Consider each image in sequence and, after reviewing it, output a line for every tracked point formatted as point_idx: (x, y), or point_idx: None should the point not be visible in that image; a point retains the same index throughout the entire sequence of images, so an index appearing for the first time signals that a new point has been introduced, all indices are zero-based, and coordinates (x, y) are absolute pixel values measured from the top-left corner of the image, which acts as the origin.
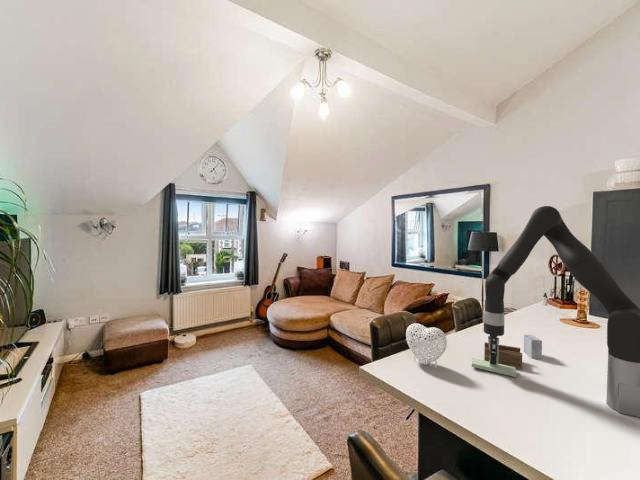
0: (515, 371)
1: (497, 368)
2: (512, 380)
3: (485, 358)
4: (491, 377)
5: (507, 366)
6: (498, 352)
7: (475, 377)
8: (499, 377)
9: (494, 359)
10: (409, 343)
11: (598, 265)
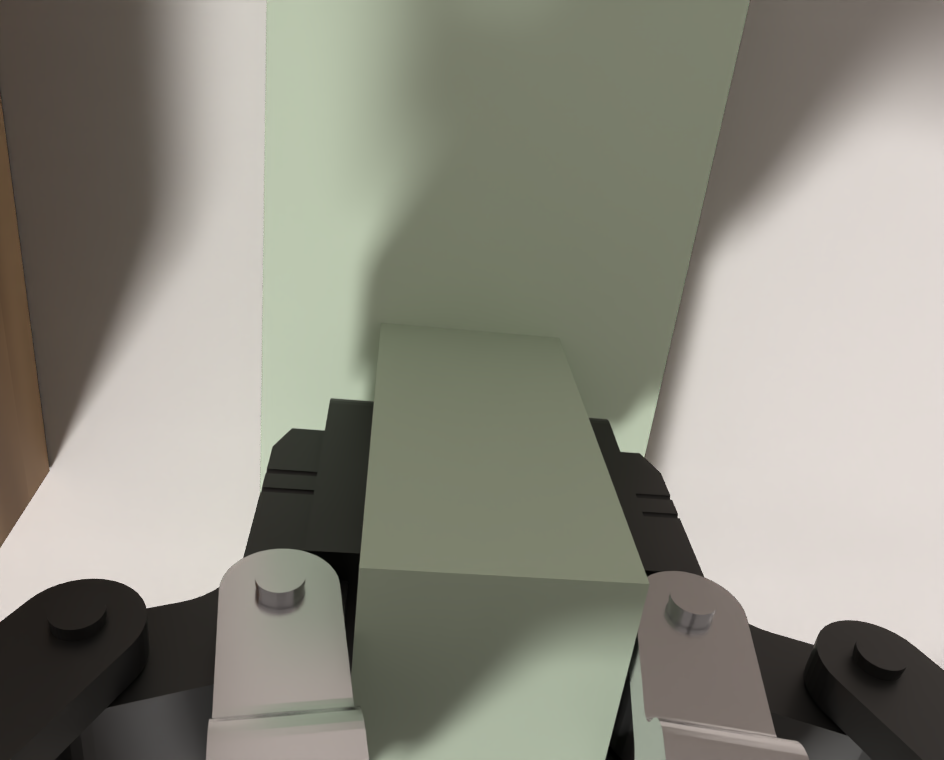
0: None
1: (618, 348)
2: (880, 24)
3: (15, 509)
4: (819, 419)
5: (332, 64)
6: (536, 583)
7: None
8: (782, 280)
9: (685, 557)
10: None
11: None
